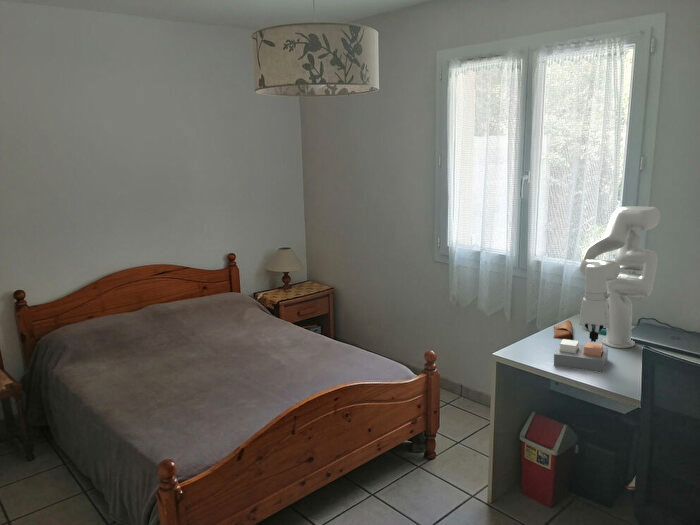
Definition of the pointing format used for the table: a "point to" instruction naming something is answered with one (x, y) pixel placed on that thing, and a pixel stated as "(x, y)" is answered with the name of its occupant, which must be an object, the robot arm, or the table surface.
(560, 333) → the sunglasses case
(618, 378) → the table surface
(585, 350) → the orange square block
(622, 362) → the table surface
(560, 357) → the key console
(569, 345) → the offwhite key
